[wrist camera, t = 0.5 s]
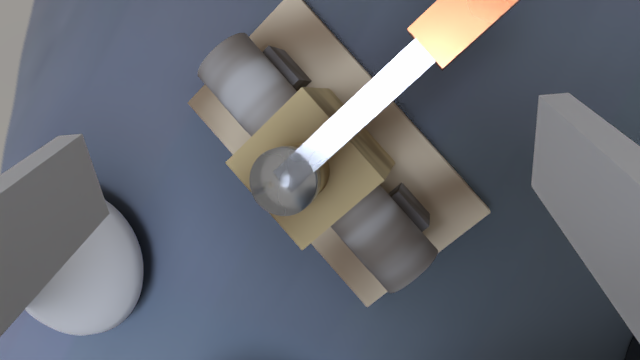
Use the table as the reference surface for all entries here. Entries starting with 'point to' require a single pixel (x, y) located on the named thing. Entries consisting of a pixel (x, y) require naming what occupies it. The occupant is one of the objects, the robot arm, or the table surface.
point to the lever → (371, 102)
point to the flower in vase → (94, 282)
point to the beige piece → (347, 164)
